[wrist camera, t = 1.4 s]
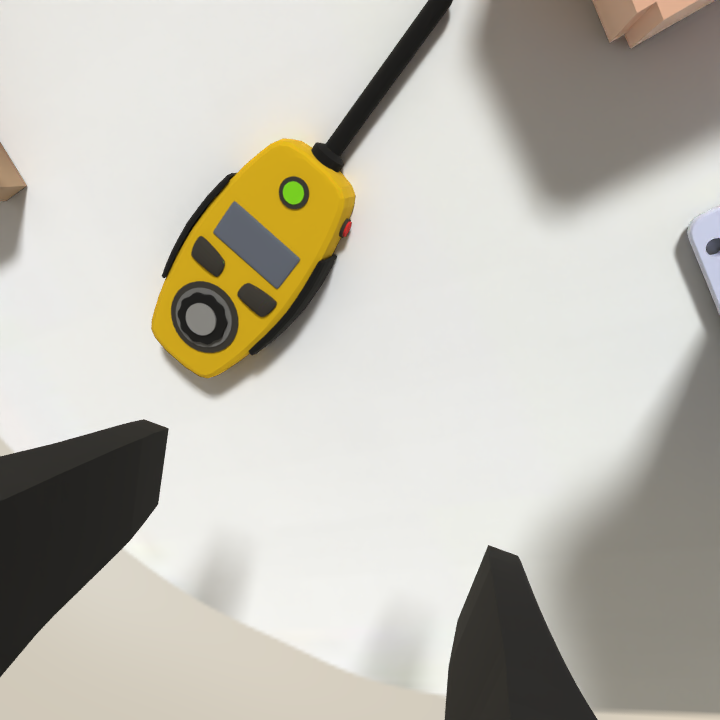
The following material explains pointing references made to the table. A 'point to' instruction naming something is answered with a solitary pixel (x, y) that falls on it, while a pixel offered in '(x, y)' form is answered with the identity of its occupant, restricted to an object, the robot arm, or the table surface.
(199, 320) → the yellow walkie talkie
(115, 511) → the robot arm
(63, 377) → the table surface
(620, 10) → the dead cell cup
